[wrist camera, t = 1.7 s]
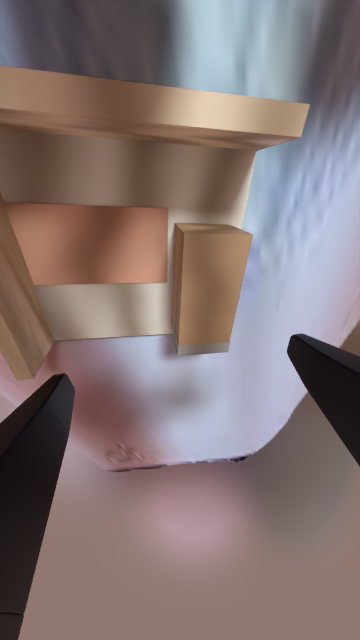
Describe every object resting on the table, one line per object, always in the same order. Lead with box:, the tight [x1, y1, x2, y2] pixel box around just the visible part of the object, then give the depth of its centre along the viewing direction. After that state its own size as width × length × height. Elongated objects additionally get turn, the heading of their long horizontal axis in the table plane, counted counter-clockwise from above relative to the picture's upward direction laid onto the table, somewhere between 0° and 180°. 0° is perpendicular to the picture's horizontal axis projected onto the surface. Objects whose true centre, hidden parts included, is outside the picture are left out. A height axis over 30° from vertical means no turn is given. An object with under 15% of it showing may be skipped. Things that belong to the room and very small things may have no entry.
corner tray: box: [0, 65, 310, 380], centre depth 15 cm, size 19×17×6 cm
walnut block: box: [172, 223, 253, 356], centre depth 17 cm, size 5×10×5 cm, turn 177°
